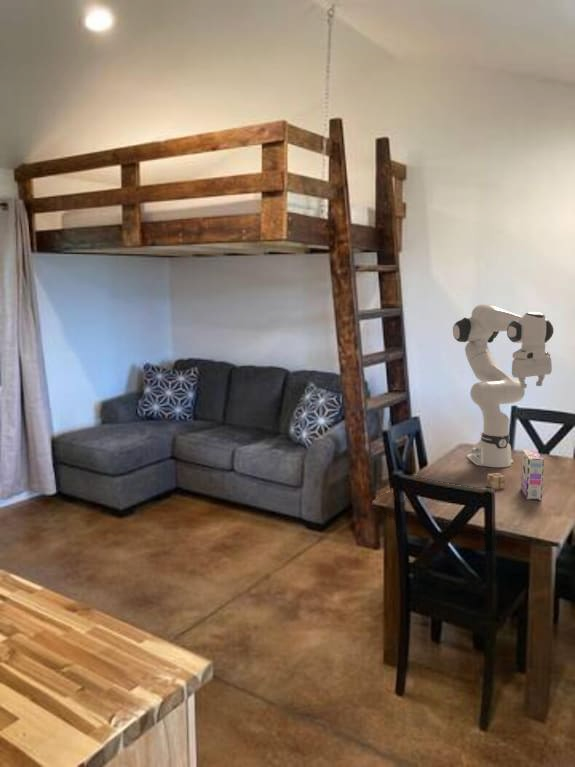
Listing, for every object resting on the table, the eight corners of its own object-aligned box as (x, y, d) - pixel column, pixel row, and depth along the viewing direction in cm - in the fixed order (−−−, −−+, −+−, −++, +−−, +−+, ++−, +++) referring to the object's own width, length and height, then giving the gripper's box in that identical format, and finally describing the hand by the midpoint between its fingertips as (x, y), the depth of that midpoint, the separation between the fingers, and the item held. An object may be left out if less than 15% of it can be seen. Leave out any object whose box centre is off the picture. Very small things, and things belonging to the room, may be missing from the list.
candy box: (542, 500, 238) (544, 459, 236) (526, 499, 239) (528, 458, 237) (535, 489, 251) (537, 449, 249) (520, 488, 253) (522, 449, 250)
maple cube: (487, 485, 257) (487, 473, 256) (497, 484, 258) (498, 472, 257) (493, 489, 252) (494, 477, 251) (504, 488, 253) (505, 476, 252)
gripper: (543, 350, 257) (541, 383, 259) (509, 353, 247) (507, 388, 249) (556, 352, 252) (554, 385, 254) (522, 355, 241) (521, 390, 244)
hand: (531, 387), depth 251 cm, fingers open, 8 cm apart
